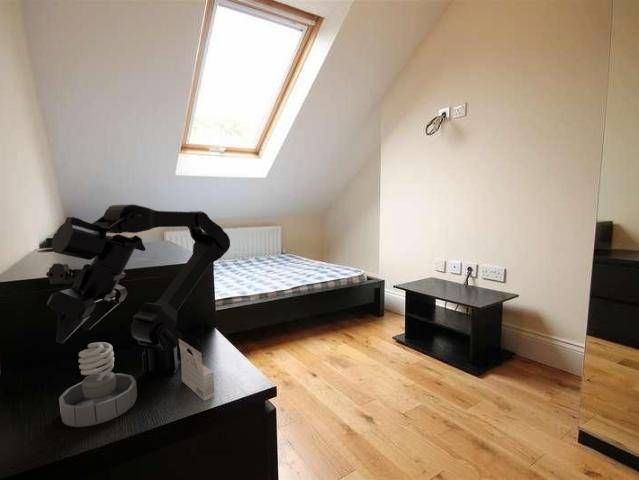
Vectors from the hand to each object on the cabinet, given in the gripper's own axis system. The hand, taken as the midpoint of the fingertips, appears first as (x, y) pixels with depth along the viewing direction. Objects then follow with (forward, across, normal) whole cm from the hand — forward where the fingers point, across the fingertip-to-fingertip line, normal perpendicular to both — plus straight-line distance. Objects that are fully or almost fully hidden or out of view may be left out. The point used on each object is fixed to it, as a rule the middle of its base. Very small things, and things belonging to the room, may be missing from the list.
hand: (73, 335), depth 69 cm
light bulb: (+8, +4, +12) cm, 15 cm away
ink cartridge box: (+1, 0, +26) cm, 27 cm away
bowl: (+9, +4, +12) cm, 15 cm away
